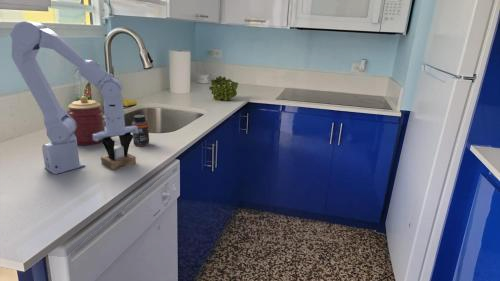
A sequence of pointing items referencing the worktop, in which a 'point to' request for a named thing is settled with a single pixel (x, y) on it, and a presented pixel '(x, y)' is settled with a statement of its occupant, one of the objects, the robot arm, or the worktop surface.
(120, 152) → the plug
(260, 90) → the worktop surface
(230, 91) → the green broccoli head
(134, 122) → the supplement bottle
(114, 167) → the socket block
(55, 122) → the robot arm
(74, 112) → the canister
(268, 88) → the worktop surface
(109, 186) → the worktop surface
